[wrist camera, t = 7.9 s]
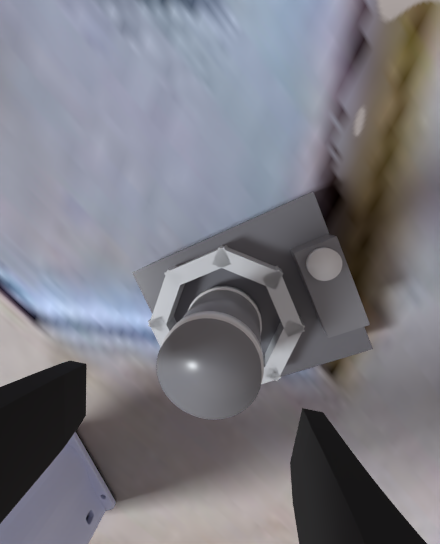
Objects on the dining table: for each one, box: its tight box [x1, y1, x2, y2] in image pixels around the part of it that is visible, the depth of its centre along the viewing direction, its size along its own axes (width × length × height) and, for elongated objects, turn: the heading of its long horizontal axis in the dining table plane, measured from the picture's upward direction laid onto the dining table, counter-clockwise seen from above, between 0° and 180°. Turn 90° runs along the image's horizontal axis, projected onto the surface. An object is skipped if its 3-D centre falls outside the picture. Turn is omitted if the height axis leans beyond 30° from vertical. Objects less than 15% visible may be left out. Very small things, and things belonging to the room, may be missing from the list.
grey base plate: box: [132, 192, 373, 384], centre depth 16 cm, size 10×12×4 cm
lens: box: [157, 285, 264, 420], centre depth 14 cm, size 5×5×6 cm
